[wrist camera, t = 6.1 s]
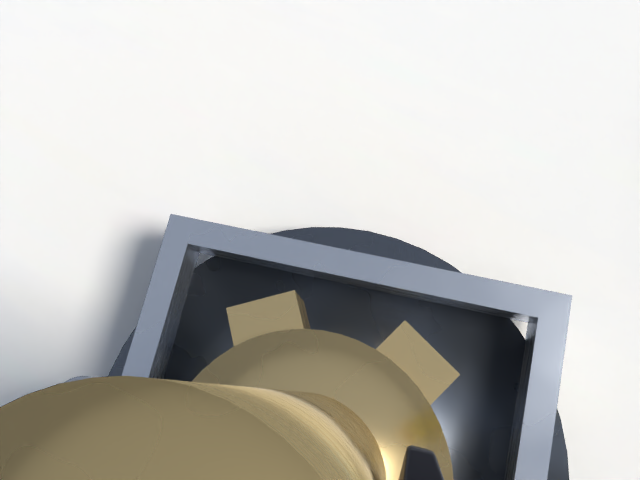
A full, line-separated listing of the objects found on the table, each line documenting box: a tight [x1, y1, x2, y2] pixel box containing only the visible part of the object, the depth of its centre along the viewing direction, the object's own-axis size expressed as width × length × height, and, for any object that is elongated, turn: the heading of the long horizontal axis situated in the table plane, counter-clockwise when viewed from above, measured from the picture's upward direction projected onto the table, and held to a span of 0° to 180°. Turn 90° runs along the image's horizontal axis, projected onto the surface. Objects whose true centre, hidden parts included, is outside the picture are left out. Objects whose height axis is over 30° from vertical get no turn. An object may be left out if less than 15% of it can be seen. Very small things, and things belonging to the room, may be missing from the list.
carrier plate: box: [64, 214, 572, 480], centre depth 16 cm, size 14×14×4 cm
